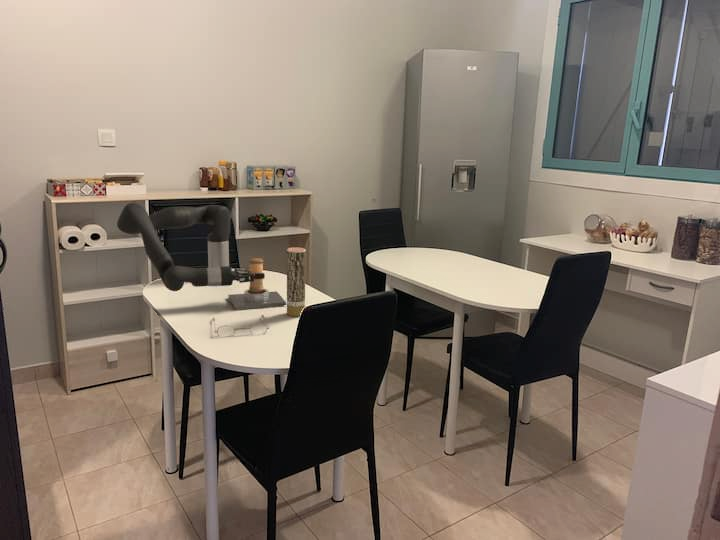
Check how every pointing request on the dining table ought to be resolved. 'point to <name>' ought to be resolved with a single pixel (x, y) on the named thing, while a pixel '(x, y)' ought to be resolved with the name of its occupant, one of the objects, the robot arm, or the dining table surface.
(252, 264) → the capped orange cylinder
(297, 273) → the paper tube
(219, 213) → the robot arm
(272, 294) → the plate
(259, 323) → the eyeglasses
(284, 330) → the dining table surface
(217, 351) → the dining table surface
